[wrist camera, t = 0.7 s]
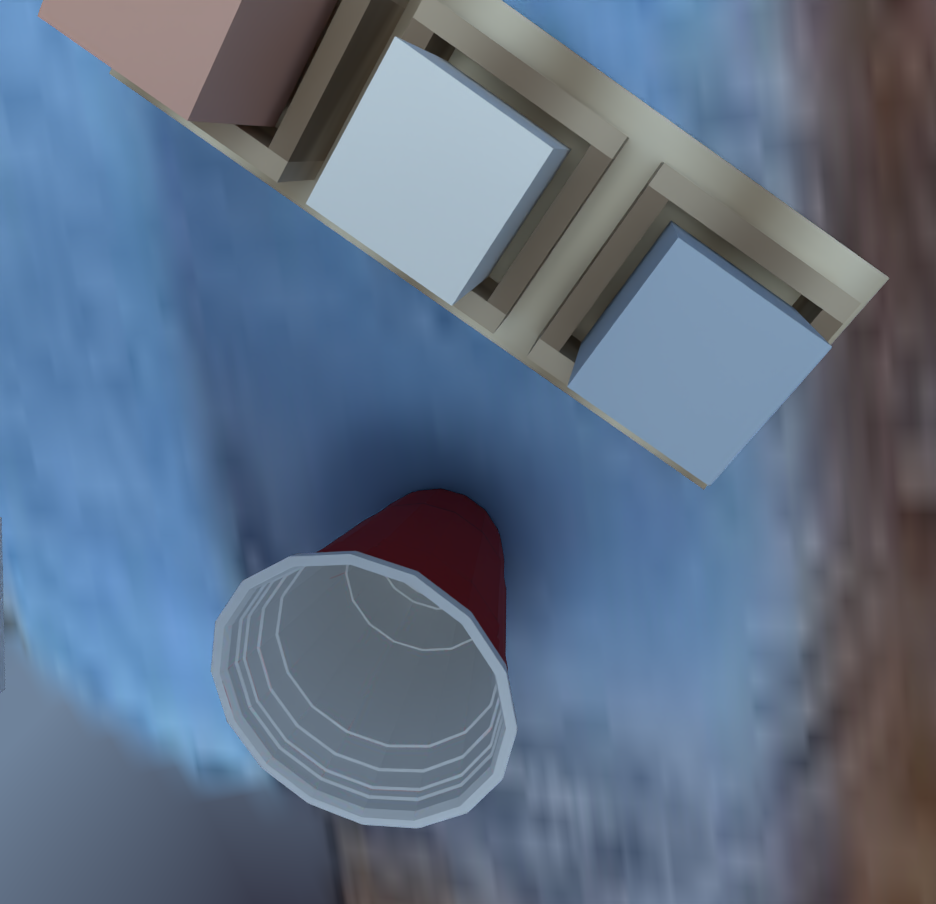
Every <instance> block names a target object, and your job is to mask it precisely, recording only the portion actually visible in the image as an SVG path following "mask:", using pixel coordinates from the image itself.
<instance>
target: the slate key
mask: <svg viewBox="0 0 936 904" xmlns="http://www.w3.org/2000/svg"><path fill="white" fill-rule="evenodd" d="M831 348H832V346H831V345H830V344H829V343H828V342H827V341H826V340H825V339H824V338H823V337H822V336H821V335H820V334H819V333H818V332H817V331H816V330H815V329H814V328H813V327H812V326H811V325H810V324H809V323H808V322H807V321H806V320H805V319H804V318H803V317H802V316H801V315H800V314H799V312H798V311H797V310H796V309H795V308H793V307H792V306H791V305H789V304H788V303H786V302H785V301H784V300H782V299H781V298H779V297H778V296H777V295H775V294H774V293H772V292H771V291H770V290H768V289H767V288H765V287H764V286H763V285H761V284H760V283H758V282H757V281H755V280H754V279H753V278H751V277H750V276H748V275H747V274H746V273H744V272H743V271H741V270H740V269H739V268H737V267H736V266H734V265H733V264H732V263H730V262H729V261H727V260H726V259H725V258H723V257H722V256H720V255H719V254H718V253H716V252H715V251H713V250H712V249H711V248H709V247H708V246H706V245H705V244H703V243H702V242H701V241H699V240H698V239H696V238H695V237H694V236H692V235H691V234H689V233H688V232H687V231H685V230H684V229H682V228H681V227H680V226H678V225H677V224H675V223H674V222H673V221H670V222H669V224H668V225H667V226H666V228H665V229H664V231H663V232H662V233H661V235H660V236H659V237H658V239H657V240H656V241H655V243H654V244H653V245H652V247H651V248H650V250H649V251H648V252H647V254H646V255H645V256H644V258H643V259H642V260H641V262H640V263H639V265H638V266H637V267H636V269H635V270H634V271H633V273H632V274H631V275H630V277H629V278H628V280H627V281H626V282H625V284H624V285H623V286H622V288H621V289H620V290H619V292H618V293H617V295H616V296H615V297H614V299H613V300H612V301H611V303H610V304H609V305H608V307H607V308H606V310H605V311H604V312H603V314H602V315H601V316H600V318H599V319H598V320H597V322H596V323H595V325H594V326H593V327H592V329H591V330H590V331H589V333H588V334H587V335H586V337H585V338H584V340H583V341H582V342H581V345H580V348H579V351H578V354H577V358H576V361H575V364H574V367H573V370H572V373H571V376H570V379H569V383H568V386H567V387H568V388H570V389H571V390H573V391H574V392H575V393H577V394H578V395H580V396H581V397H583V398H584V399H585V400H587V401H588V402H590V403H591V404H593V405H594V406H595V407H597V408H598V409H600V410H601V411H603V412H604V413H605V414H607V415H608V416H610V417H611V418H613V419H614V420H615V421H617V422H618V423H620V424H621V425H623V426H624V427H625V428H627V429H628V430H630V431H631V432H633V433H634V434H635V435H637V436H638V437H640V438H641V439H643V440H644V441H645V442H647V443H648V444H650V445H651V446H653V447H654V448H655V449H657V450H658V451H660V452H661V453H663V454H664V455H665V456H667V457H668V458H670V459H671V460H673V461H674V462H675V463H677V464H678V465H680V466H681V467H683V468H684V469H685V470H687V471H688V472H690V473H691V474H693V475H694V476H695V477H697V478H698V479H700V480H701V481H703V482H704V483H705V484H707V485H708V486H710V485H711V484H712V483H713V482H714V481H715V480H716V479H717V478H718V476H719V475H720V474H721V473H722V472H723V471H724V470H725V468H726V467H727V466H728V465H729V464H730V463H731V462H732V460H733V459H734V458H735V457H736V456H737V455H738V454H739V452H740V451H741V450H742V449H743V448H744V447H745V446H746V445H747V443H748V442H749V441H750V440H751V439H752V438H753V437H754V435H755V434H756V433H757V432H758V431H759V430H760V429H761V427H762V426H763V425H764V424H765V423H766V422H767V421H768V420H769V418H770V417H771V416H772V415H773V414H774V413H775V412H776V410H777V409H778V408H779V407H780V406H781V405H782V404H783V402H784V401H785V400H786V399H787V398H788V397H789V396H790V395H791V393H792V392H793V391H794V390H795V389H796V388H797V387H798V385H799V384H800V383H801V382H802V381H803V380H804V379H805V377H806V376H807V375H808V374H809V373H810V372H811V371H812V369H813V368H814V367H815V366H816V365H817V364H818V363H819V362H820V360H821V359H822V358H823V357H824V356H825V355H826V354H827V352H828V351H829V350H830V349H831Z"/></svg>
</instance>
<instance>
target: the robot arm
mask: <svg viewBox="0 0 936 904" xmlns="http://www.w3.org/2000/svg"><path fill="white" fill-rule="evenodd" d="M3 690H5V663H4V613H3V564H2V518H1V517H0V693H1V692H2V691H3Z"/></svg>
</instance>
